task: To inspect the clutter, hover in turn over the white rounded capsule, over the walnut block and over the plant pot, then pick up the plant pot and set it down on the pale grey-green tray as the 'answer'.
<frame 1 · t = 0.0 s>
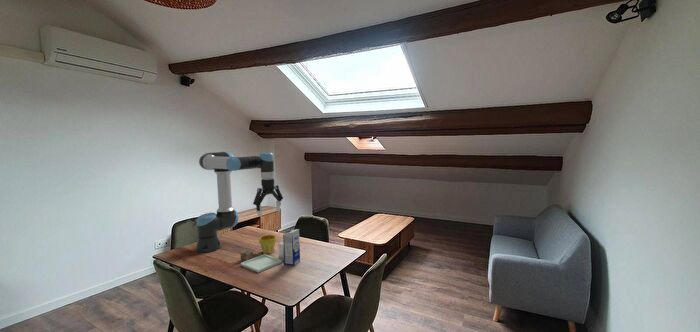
hand: (269, 213, 175), 28 cm above the table, fingers open, 13 cm apart
milk carton: (292, 263, 170), on the table
tray: (261, 264, 170), on the table
white rounded capsule: (284, 257, 179), on the table
plant pot: (268, 252, 188), on the table
walnut block: (247, 259, 177), on the table
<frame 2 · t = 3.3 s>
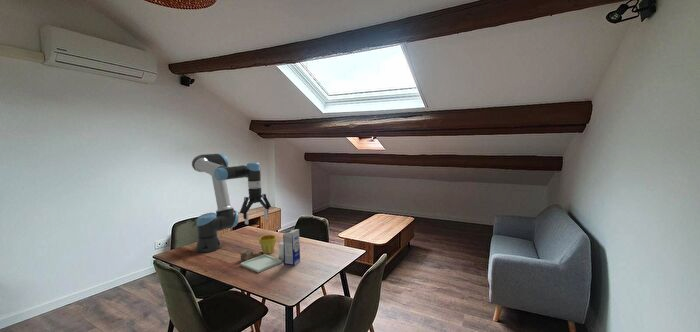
hand: (256, 221, 180), 22 cm above the table, fingers open, 13 cm apart
nothing on the table moved.
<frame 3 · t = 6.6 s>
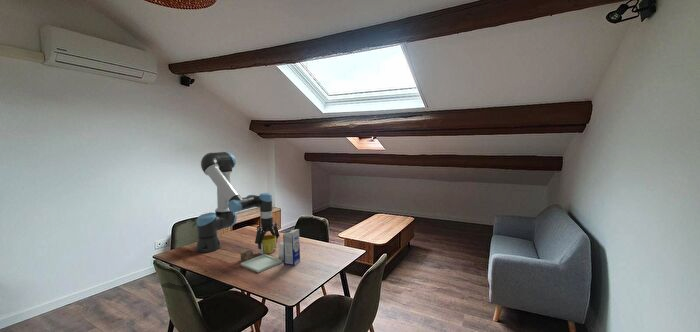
hand: (268, 250, 188), 1 cm above the table, fingers closed on plant pot, 10 cm apart
plant pot: (268, 252, 188), on the table, touching gripper
everything else where it was.
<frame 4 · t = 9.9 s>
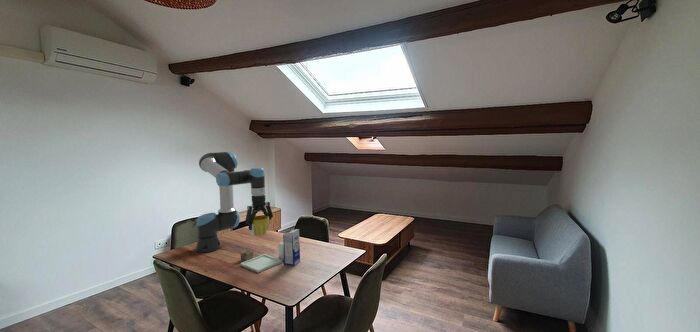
hand: (260, 232, 168), 19 cm above the table, fingers closed on plant pot, 10 cm apart
plant pot: (260, 234, 168), point 18 cm above the table, touching gripper
everything else where it was.
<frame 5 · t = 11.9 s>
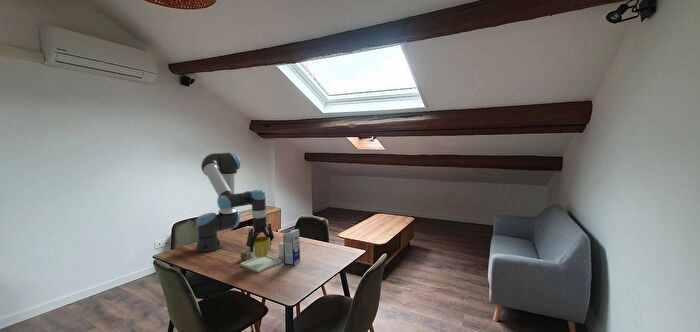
hand: (261, 254, 169), 6 cm above the table, fingers closed on plant pot, 10 cm apart
plant pot: (261, 255, 169), point 5 cm above the table, touching gripper
everything else where it was.
when the fingers open (3 cm above the table, at t = 13.3 s): plant pot drops 1 cm, resting on tray.
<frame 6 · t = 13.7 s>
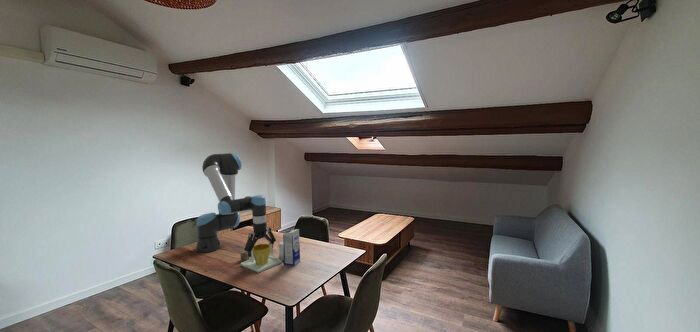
hand: (261, 257, 169), 4 cm above the table, fingers open, 13 cm apart
plant pot: (261, 263, 170), resting on tray
everything else where it was.
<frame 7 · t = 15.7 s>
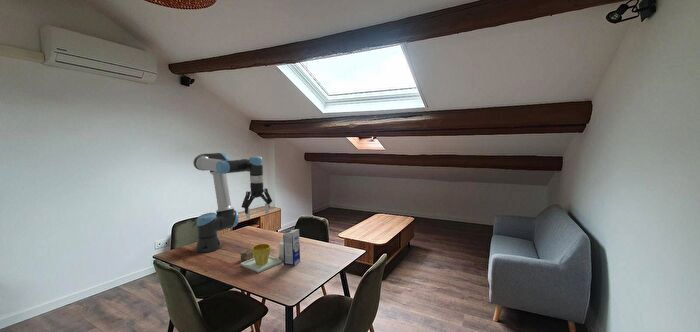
hand: (257, 216, 179), 26 cm above the table, fingers open, 13 cm apart
nothing on the table moved.
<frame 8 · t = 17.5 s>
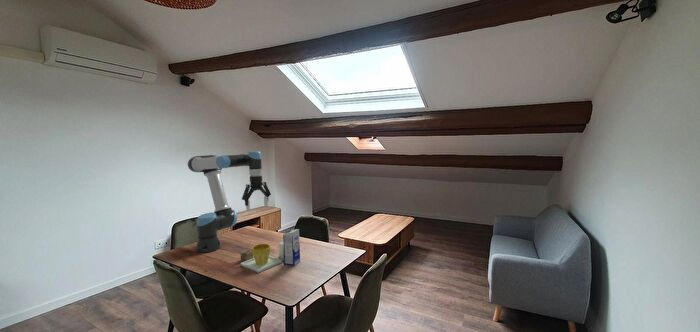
hand: (257, 208, 186), 29 cm above the table, fingers open, 13 cm apart
nothing on the table moved.
at the end: plant pot inside the target area on the tray (0.1 cm from its centre), point 0.4 cm above the tray's base; plant pot tilted 0°; the gripper is holding nothing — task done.
